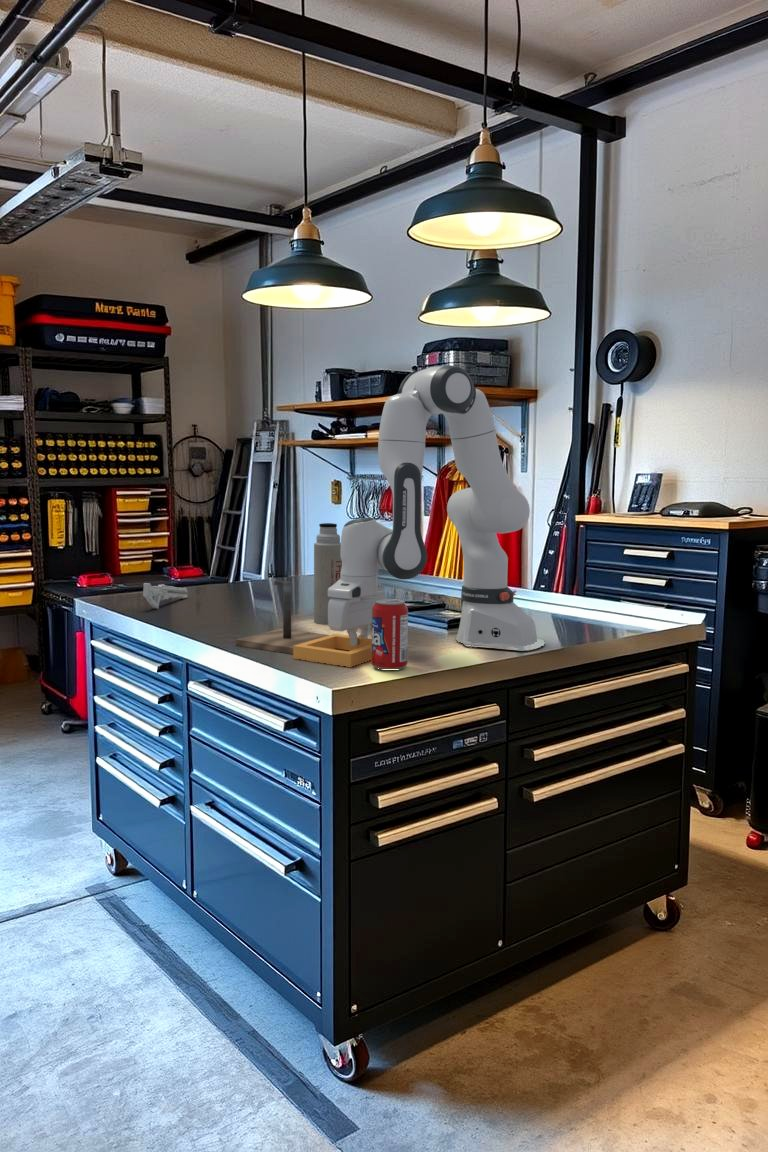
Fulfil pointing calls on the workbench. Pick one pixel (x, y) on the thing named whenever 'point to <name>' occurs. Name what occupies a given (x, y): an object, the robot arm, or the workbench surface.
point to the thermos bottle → (325, 568)
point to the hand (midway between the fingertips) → (358, 643)
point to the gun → (161, 593)
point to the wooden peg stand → (280, 630)
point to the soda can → (389, 634)
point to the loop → (325, 652)
